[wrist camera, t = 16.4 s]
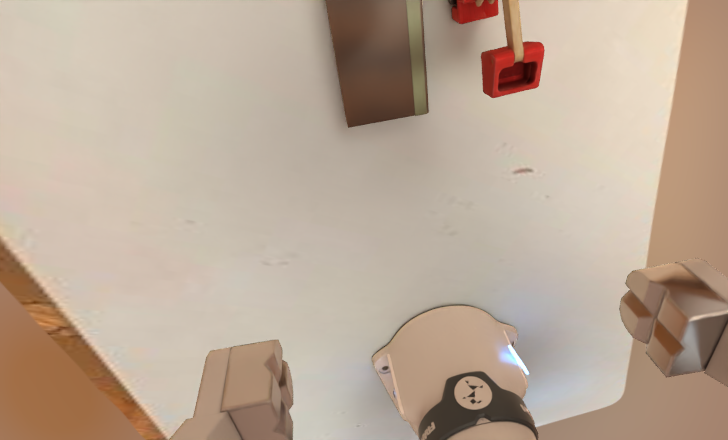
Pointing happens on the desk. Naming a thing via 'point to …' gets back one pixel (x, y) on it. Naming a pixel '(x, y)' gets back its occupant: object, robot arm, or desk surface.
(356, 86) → the board
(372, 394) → the desk surface
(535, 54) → the toy fire truck
